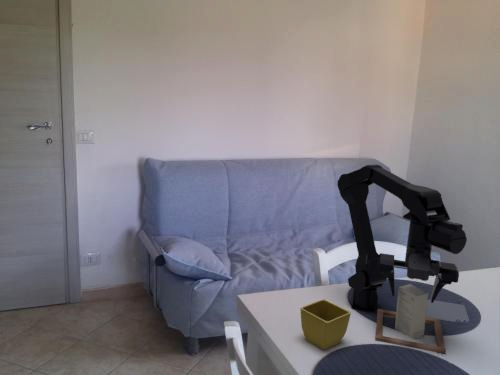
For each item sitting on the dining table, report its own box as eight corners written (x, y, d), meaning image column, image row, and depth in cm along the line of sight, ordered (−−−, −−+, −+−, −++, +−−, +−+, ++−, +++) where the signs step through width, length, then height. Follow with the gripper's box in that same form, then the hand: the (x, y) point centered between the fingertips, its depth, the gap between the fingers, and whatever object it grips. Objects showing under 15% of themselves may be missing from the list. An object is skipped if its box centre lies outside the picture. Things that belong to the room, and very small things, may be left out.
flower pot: (321, 330, 114) (323, 298, 112) (348, 346, 107) (351, 311, 105) (297, 341, 108) (299, 307, 106) (324, 358, 102) (327, 322, 100)
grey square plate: (422, 318, 122) (422, 316, 122) (420, 299, 133) (420, 298, 133) (470, 326, 119) (470, 324, 119) (464, 307, 130) (464, 305, 130)
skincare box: (424, 337, 112) (430, 293, 110) (411, 341, 110) (417, 296, 108) (405, 326, 118) (410, 283, 115) (392, 329, 116) (398, 286, 113)
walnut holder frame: (374, 343, 109) (375, 337, 109) (377, 313, 124) (377, 308, 124) (445, 357, 104) (445, 351, 104) (439, 324, 119) (439, 319, 119)
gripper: (379, 245, 104) (372, 306, 107) (466, 257, 99) (456, 321, 102) (380, 231, 114) (374, 287, 118) (459, 241, 109) (450, 300, 112)
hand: (412, 298), depth 112 cm, fingers open, 9 cm apart
